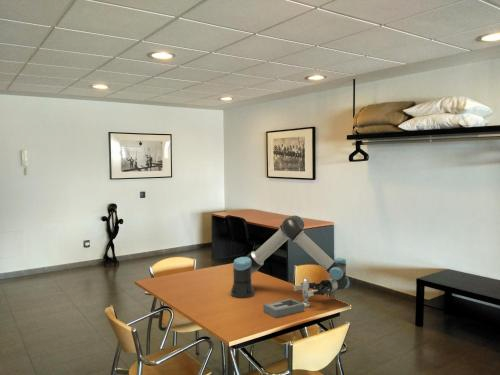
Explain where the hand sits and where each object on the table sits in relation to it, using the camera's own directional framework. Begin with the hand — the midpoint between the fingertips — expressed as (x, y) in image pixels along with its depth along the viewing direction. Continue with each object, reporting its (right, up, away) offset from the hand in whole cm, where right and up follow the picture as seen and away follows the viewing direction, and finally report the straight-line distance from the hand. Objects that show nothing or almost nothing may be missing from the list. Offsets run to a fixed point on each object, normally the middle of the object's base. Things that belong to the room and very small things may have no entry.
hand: (301, 291), depth 235 cm
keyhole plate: (-11, -10, -7) cm, 16 cm away
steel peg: (+3, -9, +2) cm, 10 cm away
